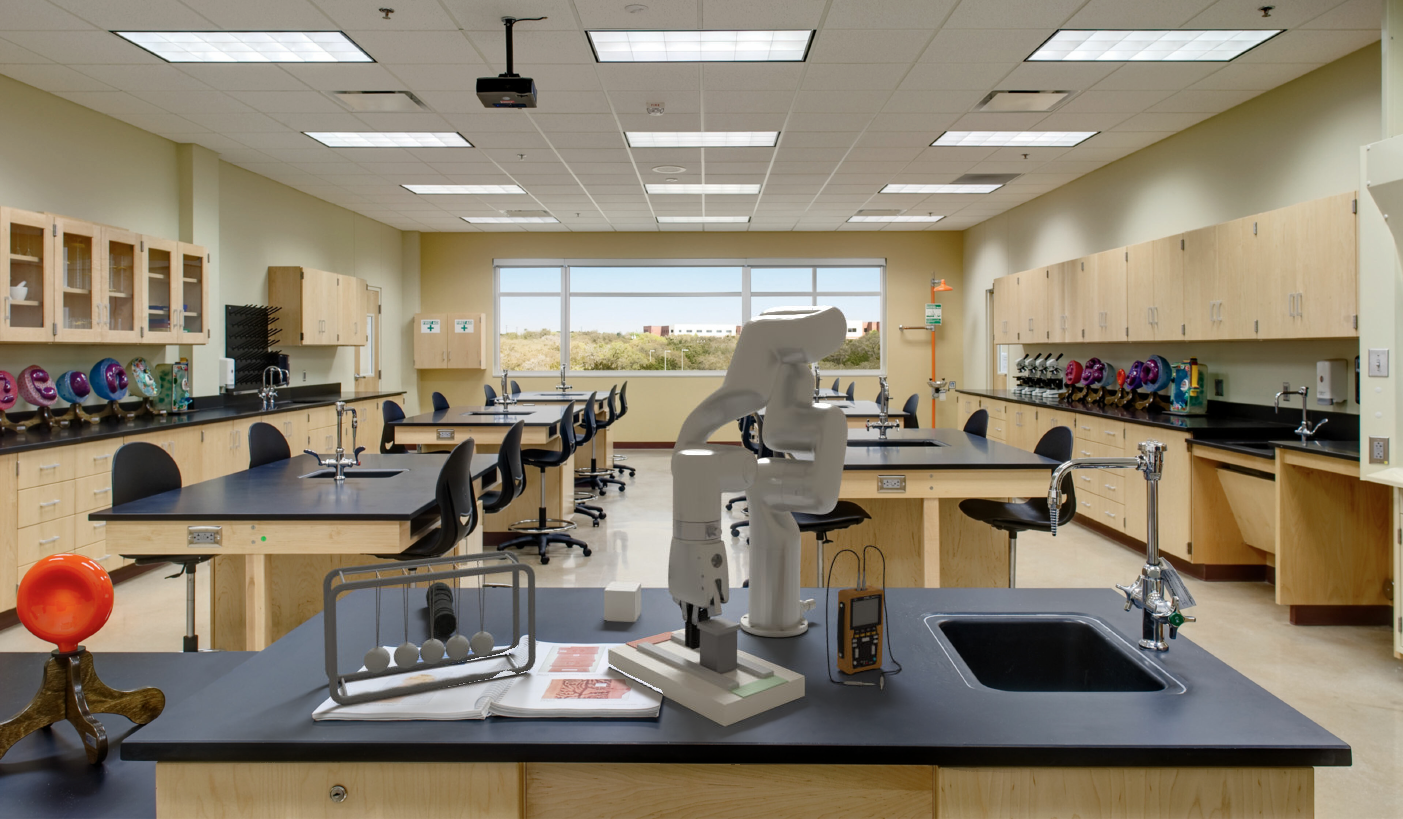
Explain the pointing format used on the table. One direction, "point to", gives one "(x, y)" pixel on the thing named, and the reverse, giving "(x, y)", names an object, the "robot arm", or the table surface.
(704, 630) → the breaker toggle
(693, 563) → the robot arm
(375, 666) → the newton's cradle
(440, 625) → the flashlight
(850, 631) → the multimeter
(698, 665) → the slider rail board
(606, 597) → the white cube
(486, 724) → the table surface
